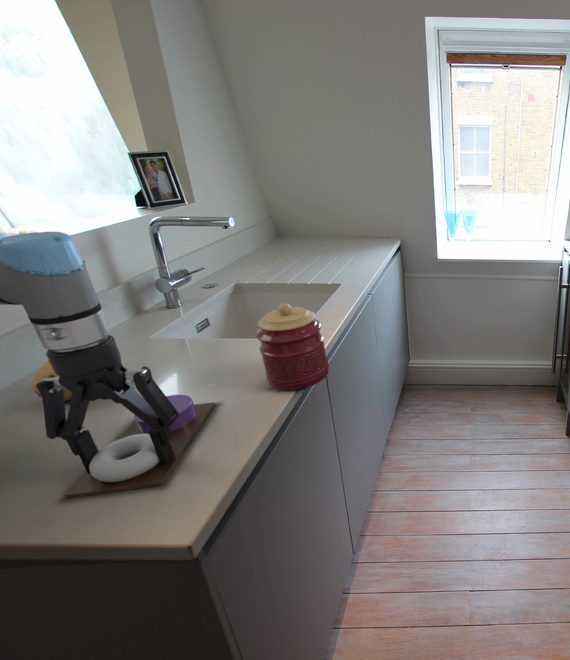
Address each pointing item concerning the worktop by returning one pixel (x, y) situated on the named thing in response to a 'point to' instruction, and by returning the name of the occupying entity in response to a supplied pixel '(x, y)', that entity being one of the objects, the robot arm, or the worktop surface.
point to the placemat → (158, 472)
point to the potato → (44, 373)
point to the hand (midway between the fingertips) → (132, 463)
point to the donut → (124, 459)
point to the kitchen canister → (292, 348)
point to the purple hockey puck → (184, 409)
